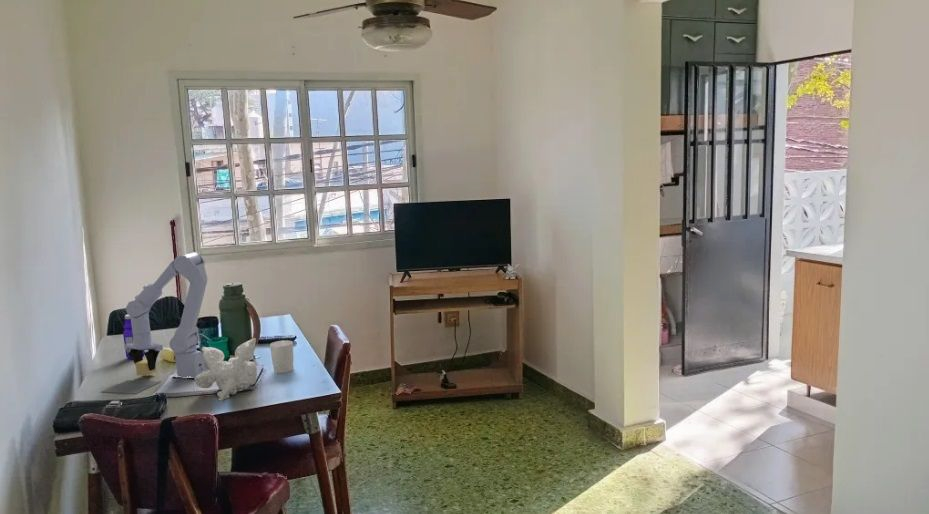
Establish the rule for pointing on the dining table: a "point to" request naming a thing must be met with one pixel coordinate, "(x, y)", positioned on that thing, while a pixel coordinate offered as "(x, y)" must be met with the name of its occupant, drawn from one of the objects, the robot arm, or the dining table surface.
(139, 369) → the block
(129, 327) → the bottle
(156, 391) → the dining table surface
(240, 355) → the white lumpy sculpture
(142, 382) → the placemat
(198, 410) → the dining table surface
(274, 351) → the white cup
